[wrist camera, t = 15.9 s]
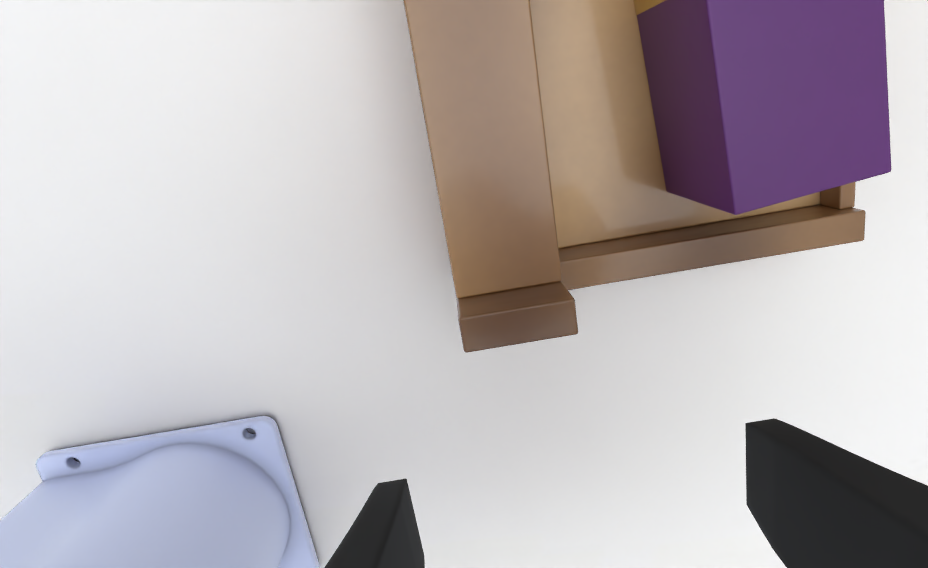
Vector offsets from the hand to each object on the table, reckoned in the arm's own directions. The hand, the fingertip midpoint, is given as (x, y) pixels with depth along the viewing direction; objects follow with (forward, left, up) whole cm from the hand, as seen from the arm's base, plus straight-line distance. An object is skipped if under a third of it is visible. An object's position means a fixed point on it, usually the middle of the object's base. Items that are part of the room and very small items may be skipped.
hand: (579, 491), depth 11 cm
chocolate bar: (+7, +9, -8) cm, 14 cm away
